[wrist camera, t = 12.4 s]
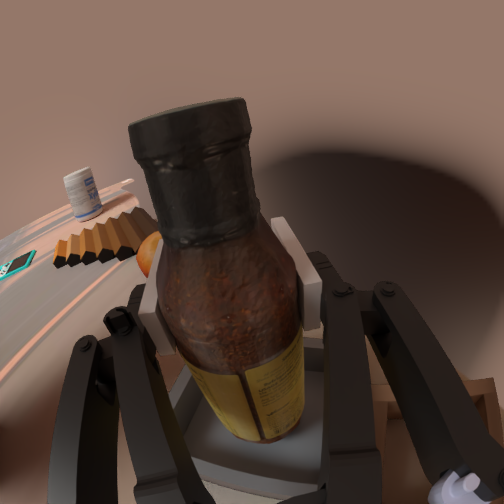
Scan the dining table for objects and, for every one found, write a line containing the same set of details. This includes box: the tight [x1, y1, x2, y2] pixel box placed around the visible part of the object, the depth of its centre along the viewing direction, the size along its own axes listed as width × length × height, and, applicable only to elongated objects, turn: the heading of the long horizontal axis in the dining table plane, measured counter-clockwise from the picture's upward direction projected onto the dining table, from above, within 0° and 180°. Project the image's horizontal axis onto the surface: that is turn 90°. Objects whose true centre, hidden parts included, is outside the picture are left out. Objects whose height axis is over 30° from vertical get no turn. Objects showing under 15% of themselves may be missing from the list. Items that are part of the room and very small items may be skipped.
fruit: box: [136, 231, 162, 278], centre depth 38 cm, size 8×8×8 cm
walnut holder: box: [371, 378, 504, 504], centre depth 12 cm, size 12×12×4 cm
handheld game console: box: [0, 250, 36, 281], centre depth 51 cm, size 10×16×1 cm, turn 118°
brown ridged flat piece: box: [53, 207, 159, 269], centre depth 50 cm, size 25×3×25 cm
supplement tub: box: [63, 167, 103, 222], centre depth 70 cm, size 10×10×15 cm
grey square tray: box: [168, 337, 324, 500], centre depth 18 cm, size 13×13×4 cm
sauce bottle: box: [128, 97, 305, 444], centre depth 13 cm, size 6×6×20 cm
